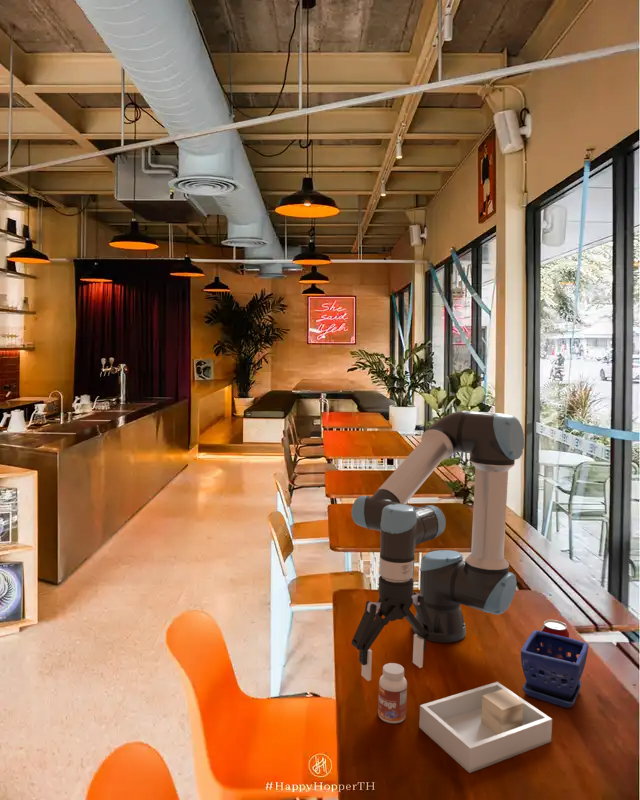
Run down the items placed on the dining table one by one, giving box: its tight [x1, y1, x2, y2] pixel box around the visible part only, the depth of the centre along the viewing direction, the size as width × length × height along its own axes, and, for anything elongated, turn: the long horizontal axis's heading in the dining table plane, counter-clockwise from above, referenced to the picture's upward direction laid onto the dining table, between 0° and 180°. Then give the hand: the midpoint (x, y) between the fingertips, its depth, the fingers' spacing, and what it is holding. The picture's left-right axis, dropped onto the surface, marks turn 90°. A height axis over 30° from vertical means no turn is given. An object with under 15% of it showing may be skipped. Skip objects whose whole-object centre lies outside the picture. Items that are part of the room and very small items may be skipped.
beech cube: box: [481, 689, 523, 735], centre depth 132 cm, size 6×6×6 cm
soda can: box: [540, 619, 570, 660], centre depth 157 cm, size 7×7×12 cm
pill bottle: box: [377, 662, 408, 724], centre depth 136 cm, size 6×6×11 cm
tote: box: [418, 681, 553, 774], centre depth 130 cm, size 16×22×5 cm
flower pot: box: [520, 629, 589, 709], centre depth 146 cm, size 13×13×12 cm
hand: (392, 671), depth 135 cm, fingers open, 13 cm apart
